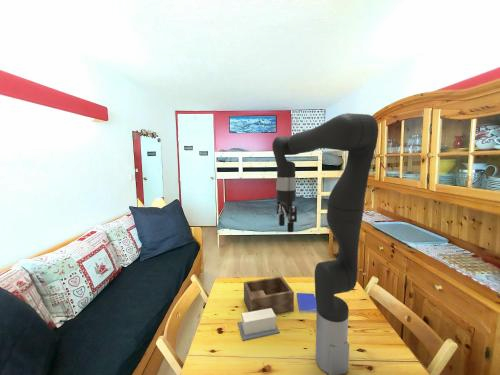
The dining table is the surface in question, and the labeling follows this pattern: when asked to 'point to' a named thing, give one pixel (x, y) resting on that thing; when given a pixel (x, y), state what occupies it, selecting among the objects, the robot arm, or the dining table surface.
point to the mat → (256, 335)
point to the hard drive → (306, 302)
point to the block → (258, 321)
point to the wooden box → (269, 295)
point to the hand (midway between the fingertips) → (285, 228)
